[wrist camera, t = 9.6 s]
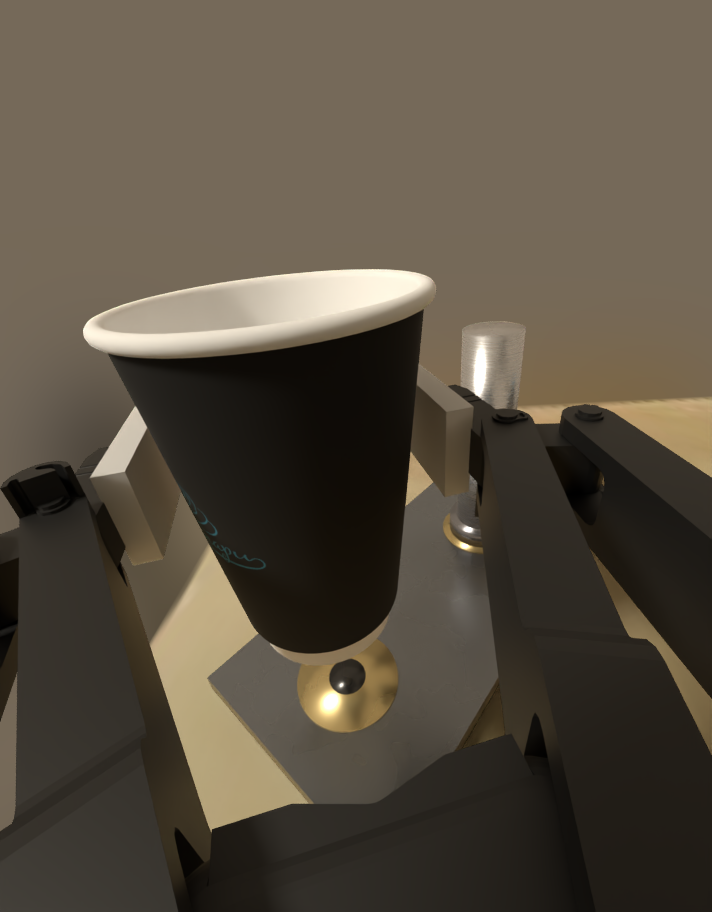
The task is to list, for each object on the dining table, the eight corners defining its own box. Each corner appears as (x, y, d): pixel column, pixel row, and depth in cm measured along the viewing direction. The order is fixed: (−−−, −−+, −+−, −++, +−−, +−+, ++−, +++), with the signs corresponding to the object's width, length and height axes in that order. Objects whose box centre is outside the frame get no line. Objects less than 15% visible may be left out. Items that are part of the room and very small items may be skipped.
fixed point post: (467, 502, 27) (476, 317, 21) (520, 522, 25) (547, 322, 19) (438, 531, 25) (439, 335, 19) (493, 556, 23) (514, 343, 17)
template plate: (443, 482, 31) (443, 472, 31) (586, 534, 25) (589, 522, 24) (211, 688, 19) (206, 676, 18) (380, 887, 13) (378, 877, 12)
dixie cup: (169, 681, 13) (-19, 340, 8) (278, 524, 20) (218, 277, 14) (413, 751, 11) (395, 332, 5) (446, 546, 17) (453, 261, 12)
